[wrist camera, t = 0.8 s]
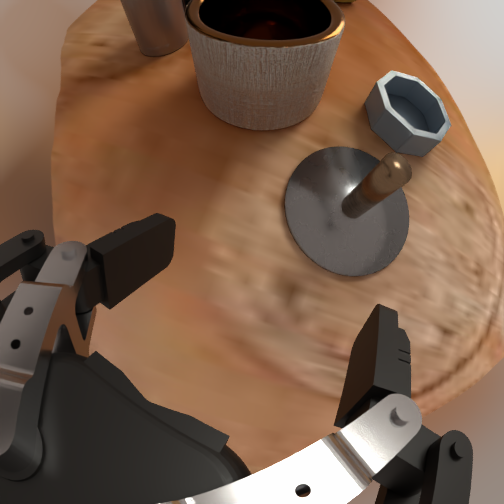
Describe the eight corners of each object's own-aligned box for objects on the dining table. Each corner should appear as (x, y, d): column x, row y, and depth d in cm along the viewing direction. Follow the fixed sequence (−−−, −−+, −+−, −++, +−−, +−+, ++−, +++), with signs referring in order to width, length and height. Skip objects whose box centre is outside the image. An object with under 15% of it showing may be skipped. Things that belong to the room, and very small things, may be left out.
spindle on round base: (281, 145, 35) (295, 82, 22) (396, 155, 35) (442, 109, 22) (286, 278, 33) (310, 269, 20) (411, 274, 33) (475, 263, 20)
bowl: (359, 86, 37) (370, 65, 31) (420, 100, 37) (434, 82, 31) (375, 149, 35) (391, 130, 30) (439, 160, 35) (458, 145, 30)
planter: (335, 128, 35) (374, 50, 20) (208, 145, 35) (186, 60, 19) (300, 48, 38) (314, -23, 22) (195, 60, 37) (180, -14, 22)
